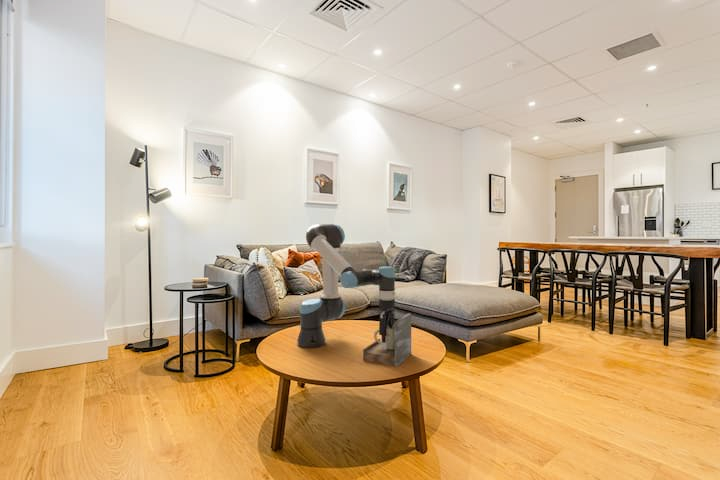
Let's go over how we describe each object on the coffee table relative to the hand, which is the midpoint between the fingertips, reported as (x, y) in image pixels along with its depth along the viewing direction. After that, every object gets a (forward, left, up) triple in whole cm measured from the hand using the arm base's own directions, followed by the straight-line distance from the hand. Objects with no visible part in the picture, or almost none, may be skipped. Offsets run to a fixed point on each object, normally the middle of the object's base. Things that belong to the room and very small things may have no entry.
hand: (387, 346), depth 171 cm
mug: (0, -1, 0) cm, 1 cm away
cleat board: (0, 0, -5) cm, 5 cm away
